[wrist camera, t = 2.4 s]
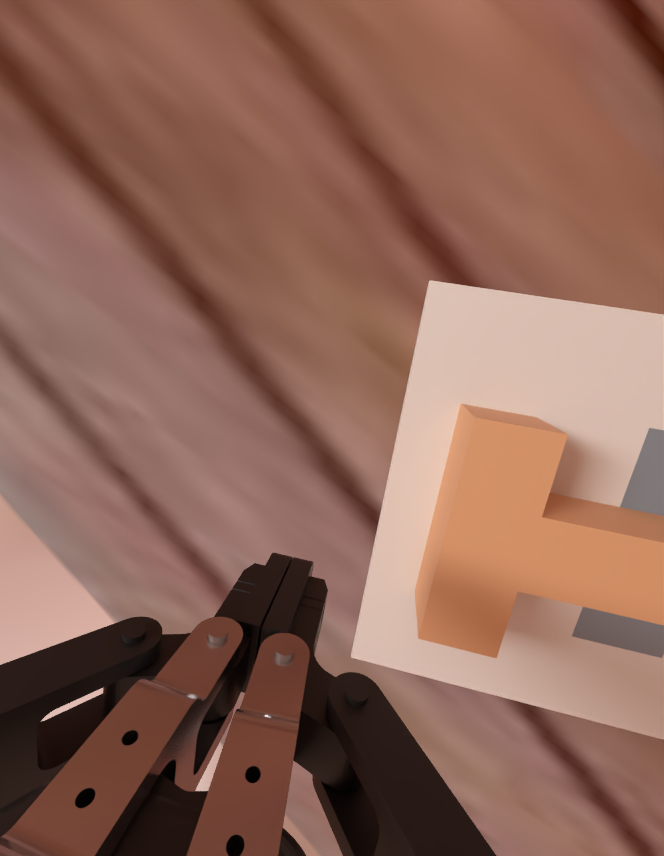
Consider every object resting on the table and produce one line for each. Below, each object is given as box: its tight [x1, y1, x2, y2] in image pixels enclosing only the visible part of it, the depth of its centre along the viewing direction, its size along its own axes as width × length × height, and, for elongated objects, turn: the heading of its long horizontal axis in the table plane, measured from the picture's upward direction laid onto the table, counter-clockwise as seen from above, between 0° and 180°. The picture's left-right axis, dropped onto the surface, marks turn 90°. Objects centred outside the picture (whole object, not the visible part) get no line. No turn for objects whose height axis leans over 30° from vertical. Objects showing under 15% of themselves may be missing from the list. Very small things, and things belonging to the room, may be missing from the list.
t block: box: [415, 404, 664, 659], centre depth 20 cm, size 12×12×4 cm
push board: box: [351, 281, 664, 740], centre depth 22 cm, size 30×24×1 cm
